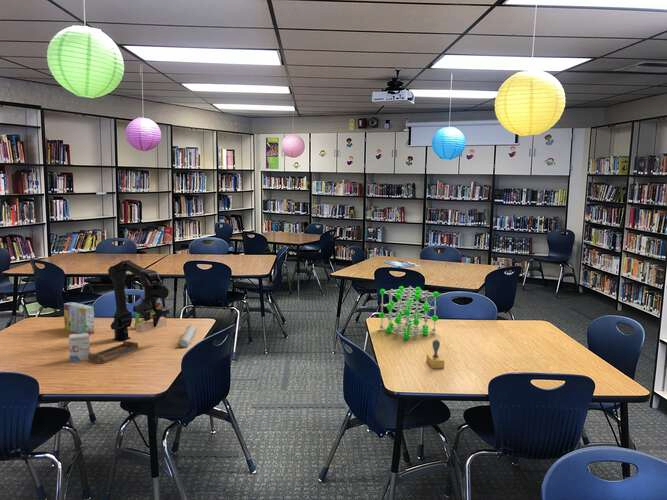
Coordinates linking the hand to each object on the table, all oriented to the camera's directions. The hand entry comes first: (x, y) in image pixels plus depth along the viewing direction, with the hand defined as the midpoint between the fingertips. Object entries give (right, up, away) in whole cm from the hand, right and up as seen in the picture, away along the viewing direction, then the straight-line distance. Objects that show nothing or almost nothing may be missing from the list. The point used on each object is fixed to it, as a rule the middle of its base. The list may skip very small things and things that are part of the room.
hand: (151, 326), depth 260 cm
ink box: (-28, -13, -17) cm, 35 cm away
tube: (+15, -10, +13) cm, 22 cm away
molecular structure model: (+134, -8, +34) cm, 139 cm away
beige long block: (0, -1, 0) cm, 1 cm away
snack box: (-50, -7, +27) cm, 57 cm away
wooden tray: (-14, -12, -11) cm, 22 cm away
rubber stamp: (+140, -16, -18) cm, 142 cm away
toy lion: (-14, -6, +38) cm, 41 cm away
